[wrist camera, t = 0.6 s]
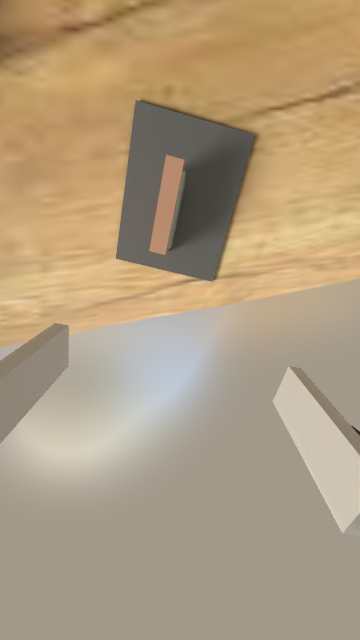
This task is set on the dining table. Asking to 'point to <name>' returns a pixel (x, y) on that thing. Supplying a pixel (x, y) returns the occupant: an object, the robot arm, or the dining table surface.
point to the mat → (199, 191)
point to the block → (168, 205)
